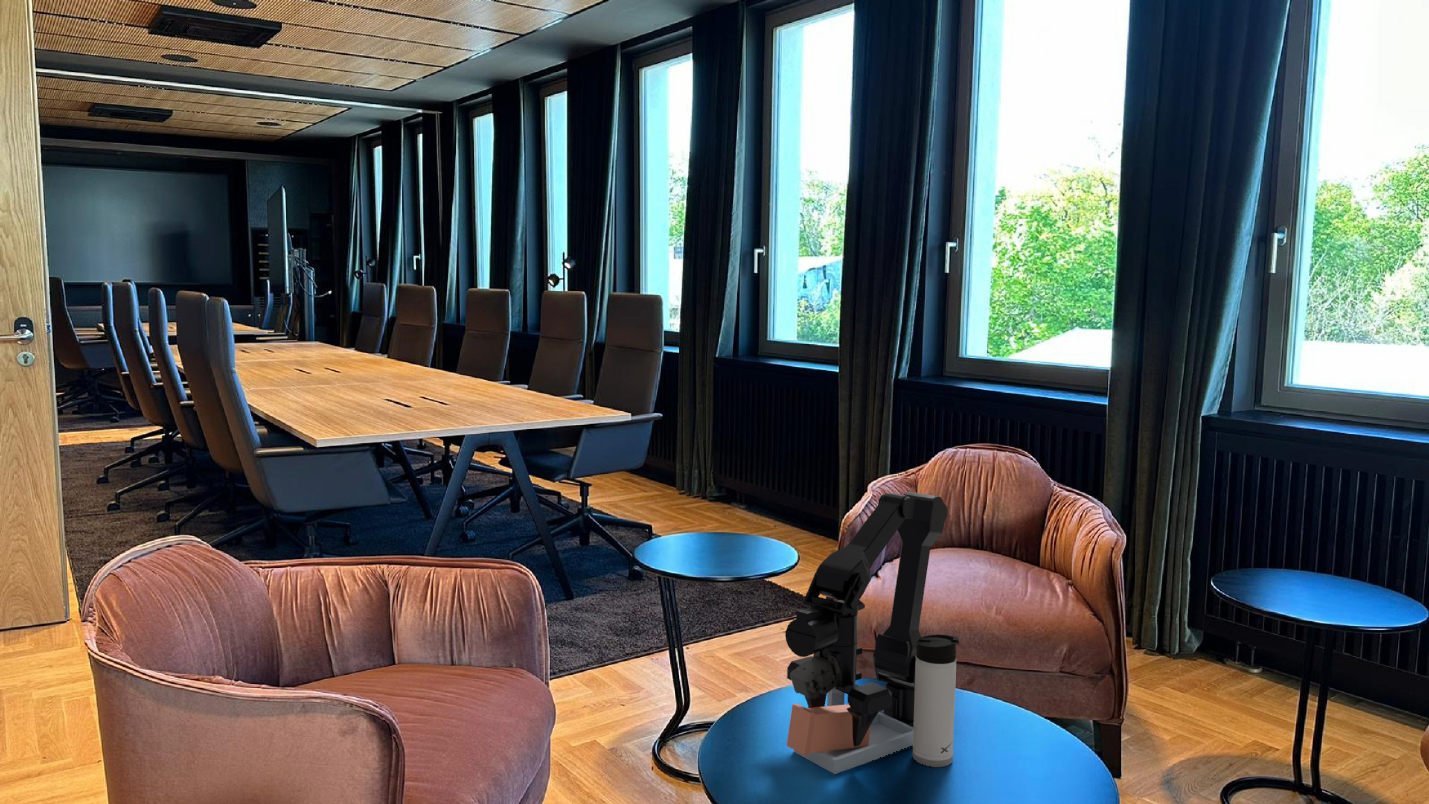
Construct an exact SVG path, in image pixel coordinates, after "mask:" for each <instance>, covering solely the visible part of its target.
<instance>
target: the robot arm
mask: <svg viewBox="0 0 1429 804" xmlns="http://www.w3.org/2000/svg"><path fill="white" fill-rule="evenodd" d="M947 519H948V506H947V505H946V504H945V502H944V500H943V498H942V497H941V496H939V495H931V494H927V493H926V494H925V493H920V492H919V493H918V492H912V491H911V492H910V491H907V492H905V493H903V494H898V493H893V492H887V493H883V494H882V495H881V496H880V497H879V499H878V503H877V506H875V508H874V510H872V512H871V513H870V515H869V516H868V517H867V519H866V520H865V522H864V523H863V524H862V526H861V527H860V528H859V529H858V531H857V532H856V533H855V535H854V536H853V537H852V539H851V540H850V541H849V543H848V544H847V545H846V546H844V547H843V548H840V549H837V550H836V551H834V552H831V553H830V554H829V555H828V556H827V557H826V558H825V559H824V560H823V561H822V562H821V563H820V564H819V565H818V567H817V568H816V571H815V572H814V575H813V578H812V579H811V582H810V585H809V587H808V589H807V591H806V595H805V596H804V598H803V600H802V601H803V602H802V606H805V607H808V608H806V609H798V610H797V611H796V618H795V619H792V620H791V621H790V622H789V623H788V625H787V627H786V630H785V631H784V632H785V633H784V634H785V635H784V636H785V641H786V644H787V646H788V648H789V650H791V652H792V653H793V654H794V655H796V656H798V657H800V658H799V659H796V660H795V659H794V660H792V661H790V663H789V664H788V666H787V669H786V672H787V673H786V679H788V680H790V681H791V684H792V686H793V689H794V692H795V693H796V694H800V695H802V696H804V699H805V701H806V704H807V708H813V707H825V706H826V703H827V702H826V701H827V693H828V692H829V691H831V690H832V689H833V688H835V689H837V690H839V691H841V692H843V693H845V695H847V703H848V704H849V705H850V707H849V708H847V711H848V712H849V713H850V714H851V715H852V727H853V744H854V746H855V747H857V746H859V745H860V744H861V742H862V740H863V739H864V737H865V735H866V733H867V731H868V729H869V727H870V725H871V723H872V722H873V720H874V719H875V717H876V716H877V714H878V713H879V712H881V713H883V714H885V715H887V716H889V717H892V718H894V719H896V720H898V721H900V722H903V723H905V724H907V725H909V726H911V727H912V726H914V696H915V664H916V651H917V650H916V644H917V641H918V639H919V638H921V637H922V635H921V632H920V622H921V615H922V610H923V603H924V602H923V601H924V596H925V589H926V588H925V587H926V582H927V581H926V580H927V575H928V574H927V573H928V566H929V559H930V555H931V554H930V553H931V548H932V546H933V545H934V544H935V542H936V541H937V540H938V539H939V538H940V536H941V535H942V534H943V531H944V526H945V522H946V521H947ZM896 532H897V533H898V536H899V537H900V541H901V547H900V554H899V561H898V568H897V575H896V583H895V589H894V597H893V601H892V609H891V615H890V622H889V626H888V627H887V628H886V629H885V630H884V632H883V633H882V634H881V633H878V634H877V636H876V638H875V645H874V646H875V648H874V651H873V654H872V660H873V661H872V662H873V667H874V670H875V671H874V672H875V676H876V681H877V682H883V683H885V686H882V685H880V684H878V683H876V682H873V681H871V682H868V683H866V684H862V685H858V684H856V681H859V680H862V679H863V678H862V676H863V675H862V672H861V671H859V670H857V658H858V657H857V656H860V655H862V654H863V647H862V646H859V645H858V620H859V619H858V617H859V616H858V615H859V611H861V610H864V609H865V608H866V604H865V603H864V602H863V601H862V600H861V598H862V596H863V595H864V593H865V592H866V591H867V587H868V586H869V584H870V582H871V568H872V566H873V564H874V563H875V561H876V560H877V559H878V557H879V556H880V555H881V553H882V552H883V550H884V549H885V548H886V547H887V545H888V544H889V542H890V541H891V539H892V538H893V537H894V536H895V534H896ZM820 595H821V596H824V597H821V596H820ZM825 597H827V598H825ZM829 598H830V599H829ZM836 600H837V601H836ZM812 655H813V656H812ZM848 704H847V705H848Z"/></svg>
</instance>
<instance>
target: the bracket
mask: <svg viewBox="0 0 1429 804" xmlns="http://www.w3.org/2000/svg"><path fill="white" fill-rule="evenodd" d="M845 696H846V693H843V692H841V691H839V690H837V689H835V688H833V689H832V690H831V691H829V692H828V693H827V696H826V701H827V702H826V706H836V705H845Z"/></svg>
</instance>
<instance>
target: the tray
mask: <svg viewBox="0 0 1429 804" xmlns="http://www.w3.org/2000/svg"><path fill="white" fill-rule="evenodd" d="M913 728H914V726H912V725H911V726H909V725H907V724H905V723H903V722H900V721H898V720H896V719H894V718H892V717H889V716H887V715H885V714H883V713H881V711H879V713H878V714H877V716H876V717H875V719H874V720H873V722H872V723H871V729H870V736H869V743H868V746H864V747H856V748H848V749H839V750H831V751H823V752H815V753H809V755H805V756H804V755H802V754H801V753H799V752H797V751H795V750H793V752H794V753H795V754H798V755H799V756H801V757H802V758H805V759H807V760H808V761H810V762H812V763H813V764H815V765H818V766H819V767H821V768H823V769H824V770H826V771H828V772H830V773H832V774H834V775H836V774H838V773H839V774H840V773H842V772H845V771H848V770H851V769H854V768H856V767H858V766H862V765H865V764H867V763H871V762H873V761H875V760H879V759H881V758H883V757H887V756H889V755H888V754H890V755H892V754H894V753H893V752H895V753H897V752H896V751H898V752H900V750H901V749H903V750H905V749H904V748H906V749H908V748H907V747H909V746H912V747H913ZM909 748H910V747H909ZM901 751H902V750H901ZM886 755H887V756H886ZM880 757H881V758H880ZM872 760H873V761H872Z"/></svg>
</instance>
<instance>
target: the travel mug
mask: <svg viewBox="0 0 1429 804" xmlns="http://www.w3.org/2000/svg"><path fill="white" fill-rule="evenodd" d="M959 644H960V639H959V637H958V636H952V635H949V634H940V633H939V634H928V635H924V636H921V638H919V639H918V641H917V644H916V650H917V651H916V664H915V696H914V725H913V727H914V728H913V746H912V758H913V760H914V761H915V760H916V761H915V762H916V763H919V764H921V765H922V764H923V766H925V765H926V767H929V766H931V767H930V768H944V767H947V766H949V765H950V764H952V762H954V761H953V760H954V735H955V733H954V732H955V706H956V705H955V704H956V681H957V679H956V676H957V673H956V672H957V647H956V645H959Z"/></svg>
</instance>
